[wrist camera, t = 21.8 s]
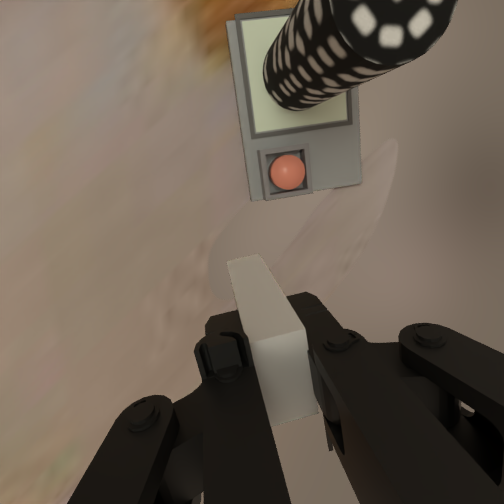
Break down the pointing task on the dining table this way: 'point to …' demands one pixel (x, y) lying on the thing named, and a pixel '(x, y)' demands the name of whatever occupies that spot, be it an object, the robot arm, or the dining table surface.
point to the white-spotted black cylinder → (348, 45)
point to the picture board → (288, 118)
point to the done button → (286, 171)
